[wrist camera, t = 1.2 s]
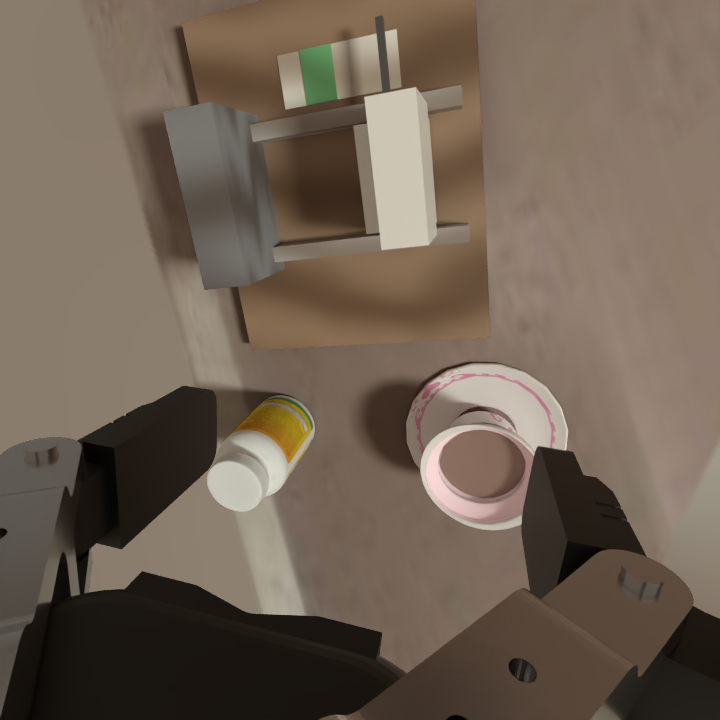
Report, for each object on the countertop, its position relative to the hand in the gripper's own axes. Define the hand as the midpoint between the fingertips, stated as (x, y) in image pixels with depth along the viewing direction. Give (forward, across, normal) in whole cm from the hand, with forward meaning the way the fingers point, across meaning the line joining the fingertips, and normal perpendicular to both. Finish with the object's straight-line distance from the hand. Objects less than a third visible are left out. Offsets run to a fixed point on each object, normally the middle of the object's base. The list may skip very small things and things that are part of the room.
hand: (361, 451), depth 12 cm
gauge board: (+23, +7, -7) cm, 25 cm away
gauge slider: (+22, +3, -10) cm, 24 cm away
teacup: (+25, -5, +10) cm, 28 cm away
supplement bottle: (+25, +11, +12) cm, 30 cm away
